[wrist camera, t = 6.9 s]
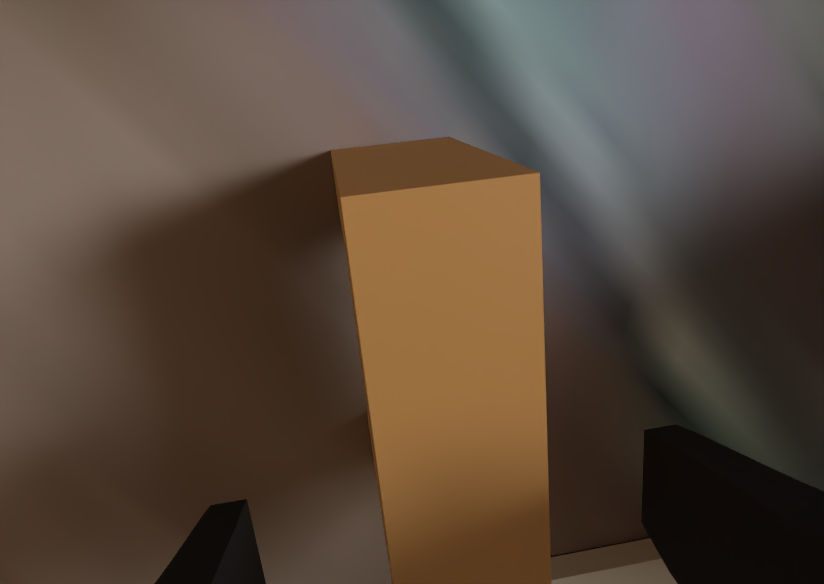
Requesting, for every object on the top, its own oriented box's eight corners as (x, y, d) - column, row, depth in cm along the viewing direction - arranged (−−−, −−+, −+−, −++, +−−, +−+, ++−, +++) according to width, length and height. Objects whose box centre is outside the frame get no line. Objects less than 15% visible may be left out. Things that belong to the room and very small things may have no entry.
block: (472, 443, 16) (552, 627, 11) (373, 459, 16) (403, 658, 10) (449, 137, 13) (540, 172, 8) (330, 150, 13) (340, 197, 8)
